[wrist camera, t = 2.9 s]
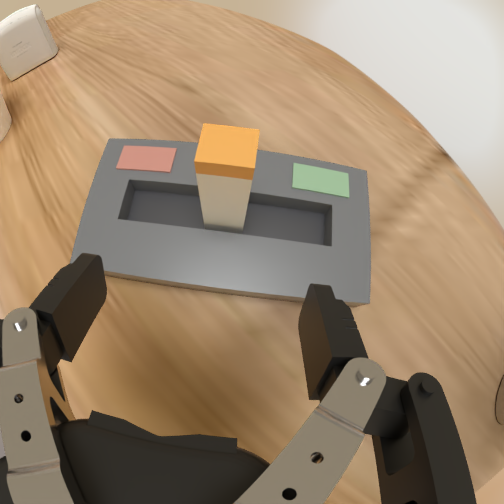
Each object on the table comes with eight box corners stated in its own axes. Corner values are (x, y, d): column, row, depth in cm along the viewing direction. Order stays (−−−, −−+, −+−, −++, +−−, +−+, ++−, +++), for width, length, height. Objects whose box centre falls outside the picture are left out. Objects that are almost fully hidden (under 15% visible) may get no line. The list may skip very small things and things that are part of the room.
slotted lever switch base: (354, 185, 27) (367, 169, 24) (354, 306, 24) (370, 303, 21) (117, 155, 26) (108, 137, 23) (85, 271, 23) (68, 263, 20)
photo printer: (8, 85, 28) (-20, 39, 16) (12, 72, 29) (-13, 27, 17) (57, 57, 30) (35, 3, 18) (59, 46, 31) (40, -5, 19)
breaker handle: (245, 206, 24) (259, 129, 14) (241, 234, 24) (254, 168, 14) (210, 202, 24) (203, 123, 14) (205, 229, 23) (193, 161, 14)
